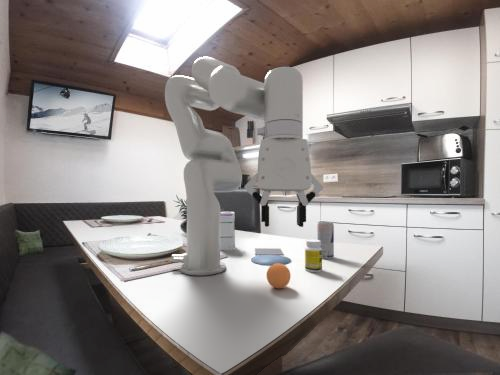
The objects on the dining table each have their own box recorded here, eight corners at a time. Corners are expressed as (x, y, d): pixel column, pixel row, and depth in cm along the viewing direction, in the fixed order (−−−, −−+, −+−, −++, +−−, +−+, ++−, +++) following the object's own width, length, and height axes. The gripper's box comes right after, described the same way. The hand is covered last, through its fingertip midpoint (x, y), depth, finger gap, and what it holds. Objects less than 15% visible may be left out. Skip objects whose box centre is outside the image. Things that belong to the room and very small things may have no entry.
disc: (250, 265, 79) (250, 264, 79) (251, 255, 92) (251, 254, 92) (293, 265, 78) (293, 264, 78) (288, 255, 91) (288, 254, 91)
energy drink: (335, 256, 90) (335, 222, 90) (331, 260, 85) (331, 223, 85) (320, 254, 92) (320, 221, 93) (315, 258, 88) (315, 222, 88)
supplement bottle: (322, 273, 71) (322, 242, 71) (305, 272, 72) (305, 241, 72) (321, 268, 76) (321, 239, 76) (304, 267, 77) (304, 238, 77)
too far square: (255, 254, 92) (255, 254, 92) (255, 248, 102) (255, 248, 102) (283, 255, 92) (283, 254, 92) (280, 249, 102) (280, 248, 102)
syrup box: (234, 250, 99) (234, 212, 100) (218, 250, 99) (218, 212, 100) (235, 247, 105) (235, 211, 105) (220, 247, 105) (220, 211, 105)
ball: (267, 292, 57) (267, 266, 57) (265, 283, 63) (265, 260, 63) (292, 292, 57) (292, 267, 57) (288, 283, 63) (288, 260, 63)
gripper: (238, 129, 48) (238, 228, 47) (332, 129, 47) (333, 228, 47) (240, 138, 55) (240, 223, 55) (322, 138, 55) (322, 223, 55)
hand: (283, 225), depth 51 cm, fingers open, 5 cm apart
